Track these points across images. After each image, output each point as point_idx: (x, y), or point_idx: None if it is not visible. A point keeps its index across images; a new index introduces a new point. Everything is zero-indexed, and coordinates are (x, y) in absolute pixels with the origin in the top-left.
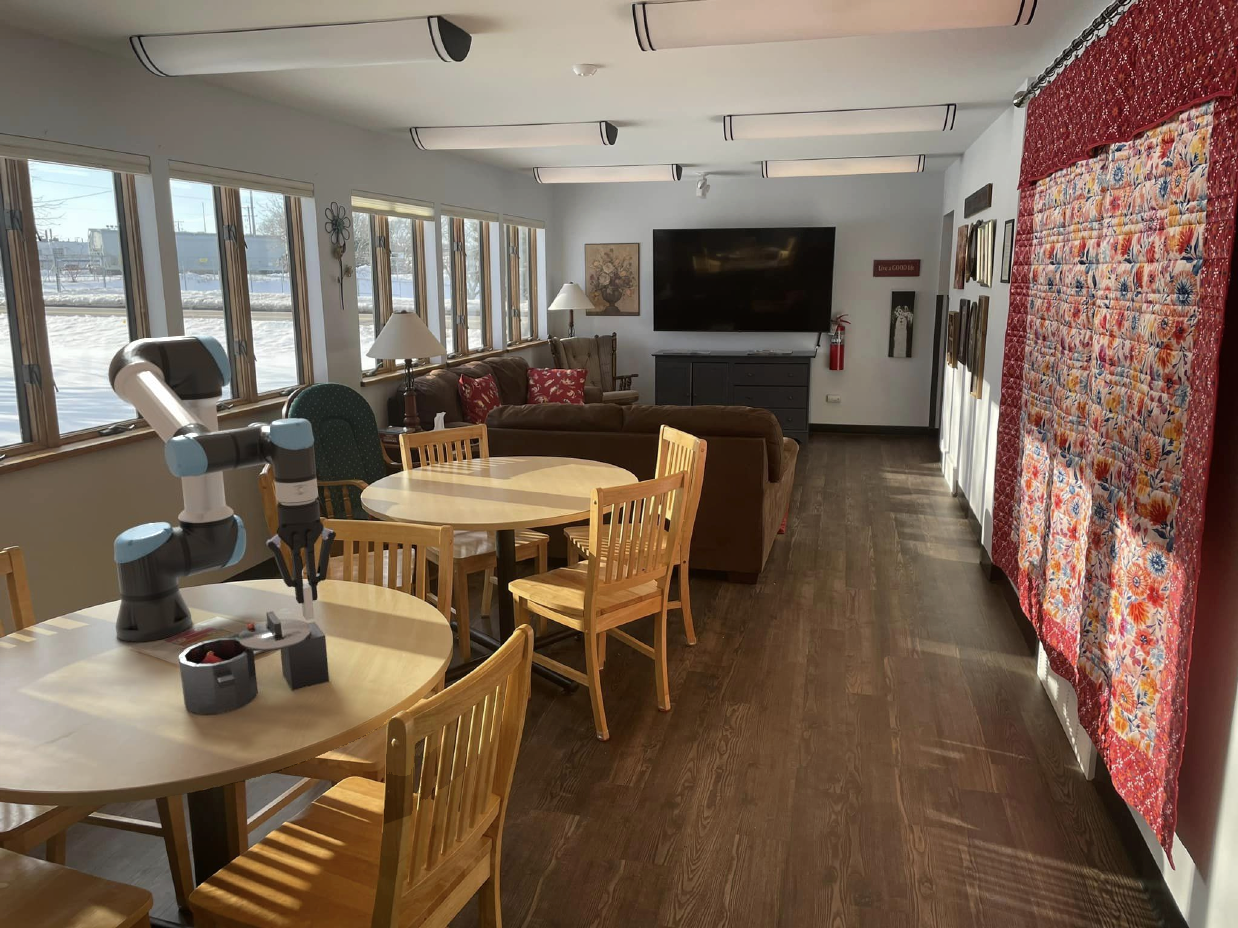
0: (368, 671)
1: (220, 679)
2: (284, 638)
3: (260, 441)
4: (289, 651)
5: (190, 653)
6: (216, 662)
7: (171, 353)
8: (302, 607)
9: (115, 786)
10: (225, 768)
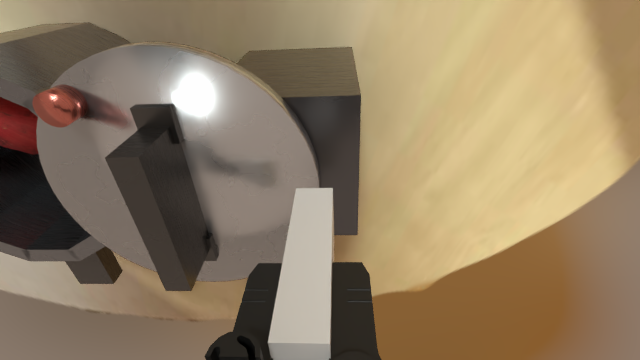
0: (449, 149)
1: (79, 273)
2: (219, 251)
3: None
4: None
5: None
6: (25, 143)
7: None
8: (291, 220)
9: (24, 293)
10: (163, 315)
